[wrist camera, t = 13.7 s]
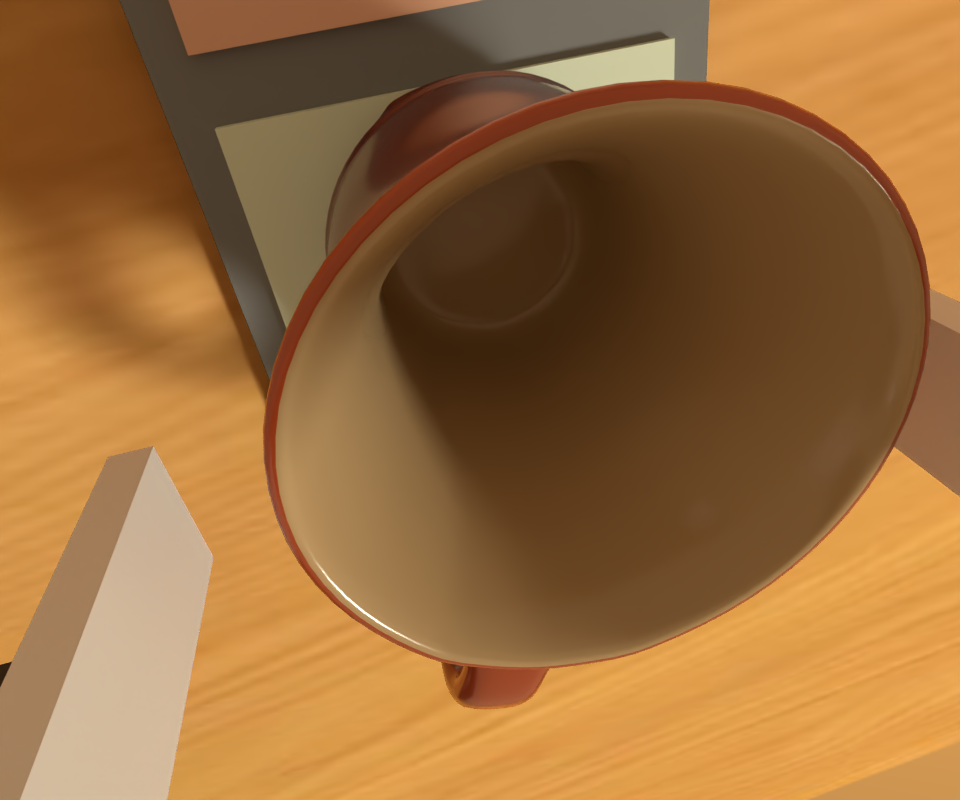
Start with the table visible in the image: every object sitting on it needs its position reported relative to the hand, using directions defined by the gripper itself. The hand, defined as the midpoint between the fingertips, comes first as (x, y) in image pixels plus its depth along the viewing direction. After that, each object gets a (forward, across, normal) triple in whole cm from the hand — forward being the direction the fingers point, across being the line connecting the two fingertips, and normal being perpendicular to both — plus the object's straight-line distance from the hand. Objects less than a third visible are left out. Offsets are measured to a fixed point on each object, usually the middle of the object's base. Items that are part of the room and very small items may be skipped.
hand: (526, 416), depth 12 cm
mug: (+7, 0, 0) cm, 7 cm away
